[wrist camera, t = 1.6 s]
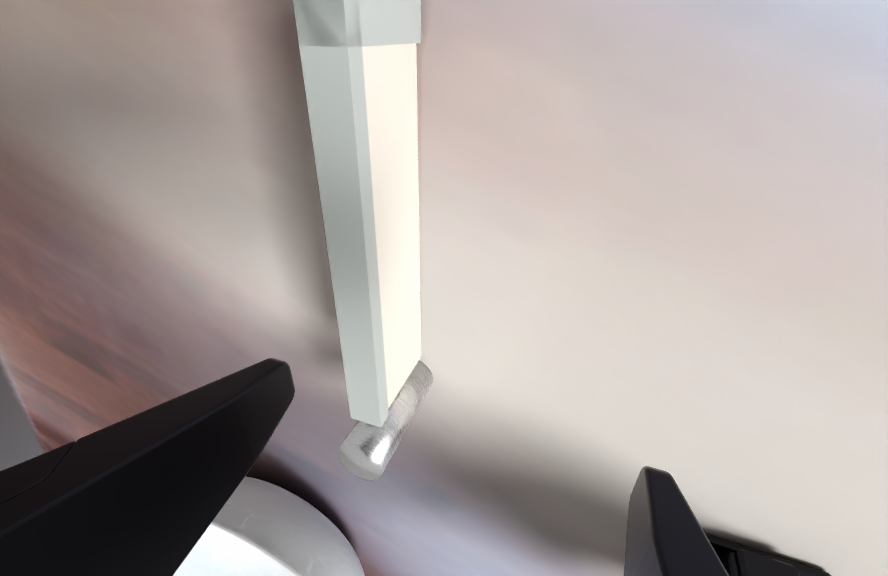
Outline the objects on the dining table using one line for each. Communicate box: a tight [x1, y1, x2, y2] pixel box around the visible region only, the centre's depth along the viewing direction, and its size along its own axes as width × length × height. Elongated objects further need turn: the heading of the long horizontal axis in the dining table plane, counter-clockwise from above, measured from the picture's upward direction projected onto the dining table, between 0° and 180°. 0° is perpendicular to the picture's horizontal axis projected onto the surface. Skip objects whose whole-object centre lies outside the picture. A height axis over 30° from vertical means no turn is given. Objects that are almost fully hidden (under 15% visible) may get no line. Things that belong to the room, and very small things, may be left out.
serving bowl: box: [173, 476, 365, 576], centre depth 39 cm, size 21×21×7 cm
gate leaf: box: [293, 0, 421, 427], centre depth 18 cm, size 17×2×5 cm, turn 179°
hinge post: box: [337, 361, 433, 481], centre depth 23 cm, size 2×2×6 cm
